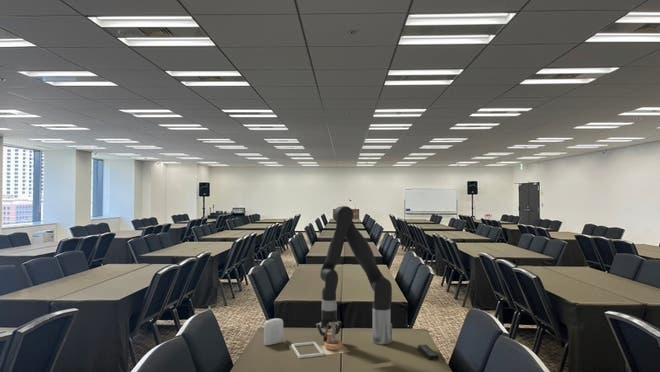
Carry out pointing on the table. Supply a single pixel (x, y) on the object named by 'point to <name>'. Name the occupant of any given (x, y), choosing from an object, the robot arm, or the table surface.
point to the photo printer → (273, 331)
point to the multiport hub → (428, 352)
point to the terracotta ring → (330, 346)
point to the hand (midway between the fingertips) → (329, 342)
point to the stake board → (327, 351)
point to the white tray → (307, 354)
